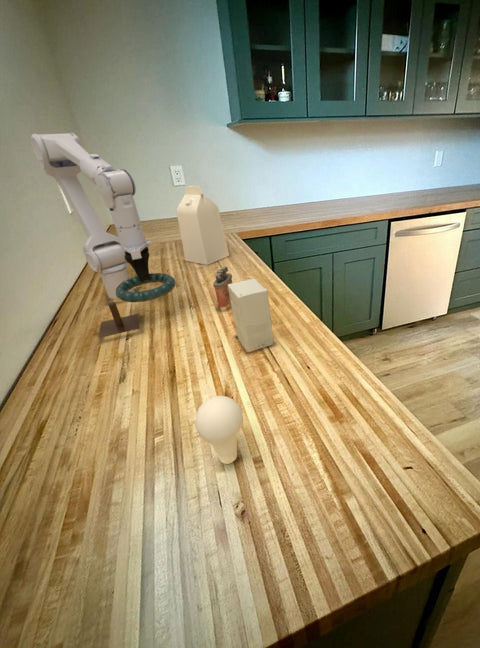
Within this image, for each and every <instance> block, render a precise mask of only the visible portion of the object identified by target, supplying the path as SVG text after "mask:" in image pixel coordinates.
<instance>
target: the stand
mask: <svg viewBox="0 0 480 648" xmlns="http://www.w3.org/2000/svg"><path fill="white" fill-rule="evenodd" d="M107 305H108V309H109V311H110V314H111V316H112V319H108V320H104V321H101V322H100V327H99V332H98V333H99V334H98V339H102V338H106V337H111V336H115V335H119V334H123V333H126V332H127V333H128V332H132V331H135V330H140V313H135V314H131V315H126V316H121V314H120V311H119V308H118V305H117V302H115V301H111V302H109V303H107Z"/></svg>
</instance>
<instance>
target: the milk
mask: <svg viewBox="0 0 480 648" xmlns="http://www.w3.org/2000/svg"><path fill="white" fill-rule="evenodd" d="M176 215H177V216H176V217H177V222H178V223H177V224H178V228H179V233H180V239H181V245H182V250H183V255H184V261H185V262H190V263H194V264H195V263H196V264H200V265H201V264H202V265H206V266H209V265H211V264H213V263H216V262H219V261H220V260H222V259H225V258H227V257H229V256H230V253H229V247H228V245H227V240H226V235H225V232H224V226H223V222H222V217H221V213H220V210H219V206H218V205H217V204H216V203H215V202H214V201H213V200H211V198H209V197H208V196H207V195H206V194H205V193H204V191H203V190H202V187H201V185H185V189H184V196H183V197H182V199H181V200H180V202H179V203H178V206H177V207H176Z"/></svg>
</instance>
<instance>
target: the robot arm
mask: <svg viewBox="0 0 480 648" xmlns="http://www.w3.org/2000/svg"><path fill="white" fill-rule="evenodd" d="M30 145H31V149H32V151H33V154H34V156H35V158H36V160H37V162H38V163H39V165H40V167H41V169H42V170H43V172H44V173H45V175H47V176H50V177H53V178H54V180H55V182H56V183H57V184H58V186H59V188H60V190H61V191H62V193H63V196H64V197H65V198H66V201H67V202H68V204H69V206H70V208H71V209H72V212H73V213H74V214H75V217H76V218H77V220H78V221H79V224H80V226H81V227H82V229H83V231H84V233H85V235H86V236H87V240H86V241H85V242H84V244H83V246H82V252H83V254H84V256H85V259H86V262H87V264H88V266H89V268H90V269H91V270H92V271H93V272H95V273H98V274H99V275H100V279H101V280H102V284H103V287H104V289H105V292H106V294H107V297H108V299H110V300H111V299H112V300H117V299H118V300H120V299H119V298H118V297H117V296H116V288H117V287H118V286H119V285H120V284H121V283H122V282H124V281H126V280H128V279H130V278H131V277H130V273H129V271H128V267H129V265H130V266H131V267H132V269H133V270H134V273H135V275H136V276H138V278H139V279H140V281H146V280H149V274H150V269H149V259H150V251H149V247H148V246H151V245H152V244H153V242H152V240H151V239H148V240H147V238H146V236H145V232H144V229H143V225H142V221H141V218H140V215H139V212H138V207H137V204H136V201H135V198H134V196H135V194H136V192H137V191H136V190H137V189H136V187H137V186H136V183H135V180H134V178H133V176H132V174H131V173H130V172H129V171H128V170H127V169H126V168H120V169H119V168H118V169H116V167H114V166H113V165H111V164H110V163H108V162H107V160H105V159H103V158H102V157H101V156H100V155H99V154H98V153H89V152H88V151H87V150H86V149H85V148H84V147H83V143H82V141H81V139H80V138H79V136H77V135H76V134H75V133H74V132H68V133H46V134H45V133H42V134H38V133H33V134H32V135H31V137H30ZM80 173H81V174H82V175H83V176H84V177H85V178H86V179H88V180H89V181H90V182H91V183H93V184H94V185H95V186H96V188H97V190H98V191H97V192H98V193H99V195H100V196H101V198H102V199H103V203H104V205H105V206H106V208H108V209H109V212H110V215H111V218H112V221H113V225H114V227H115V231H116V234H117V235H114V234H112V233H109V232H107V230H106V229H105V226H104V225H103V223H102V221H101V219H100V218H99V216H98V214H97V211H96V210H95V207H94V206H93V204H92V202H91V201H90V199H89V196H88V195H87V193H86V191H85V189H84V187H83V186H82V184H81V182H80V180H79V178H78V175H79V174H80ZM135 289H137V286H136V287H134V288H132V289H130V290H129V292H135Z"/></svg>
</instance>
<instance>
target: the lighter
mask: <svg viewBox="0 0 480 648" xmlns="http://www.w3.org/2000/svg"><path fill="white" fill-rule="evenodd" d="M228 272H229V268H228V266H227V265H226V266H223V267H222V268H220V269H217V270H216V273H215V274H214V277H215V280H214V281H213V283H212V284H213V287H214V290H215V295H216V301H217V306H218V307H219V308H220V307H221V308H225V307H226V306H228V305H229V304H231V301H230V296H229V290H228V284H231V283H233V279H232V278H233V275H232V273H228Z"/></svg>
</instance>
